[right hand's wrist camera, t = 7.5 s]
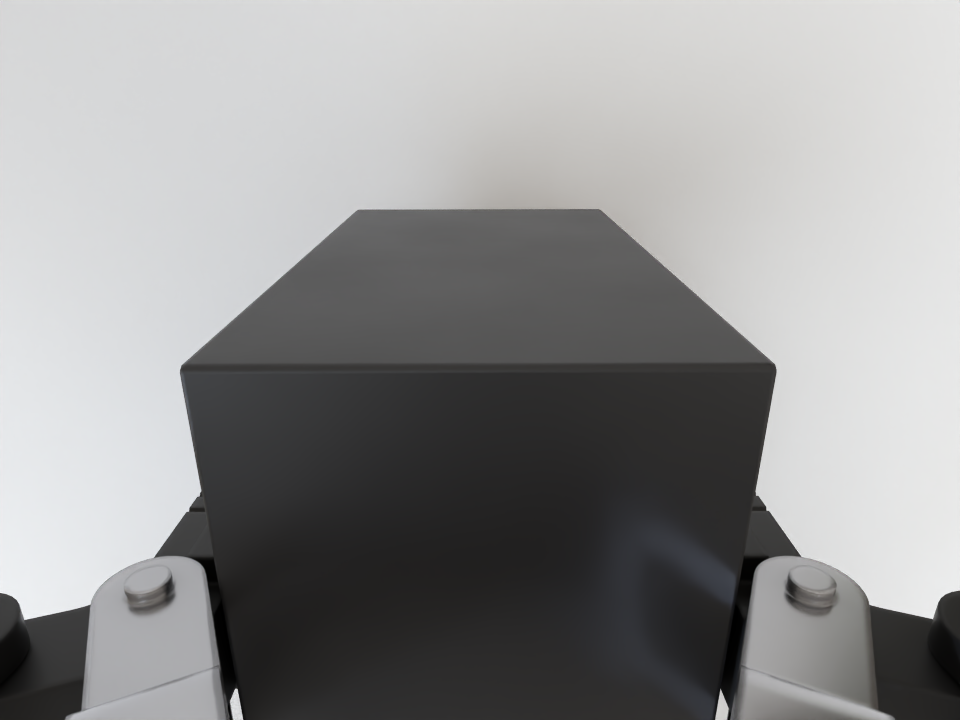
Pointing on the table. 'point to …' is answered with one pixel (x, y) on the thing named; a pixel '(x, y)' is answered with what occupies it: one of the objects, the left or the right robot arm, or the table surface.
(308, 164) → the table surface
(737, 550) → the box
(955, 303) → the table surface
